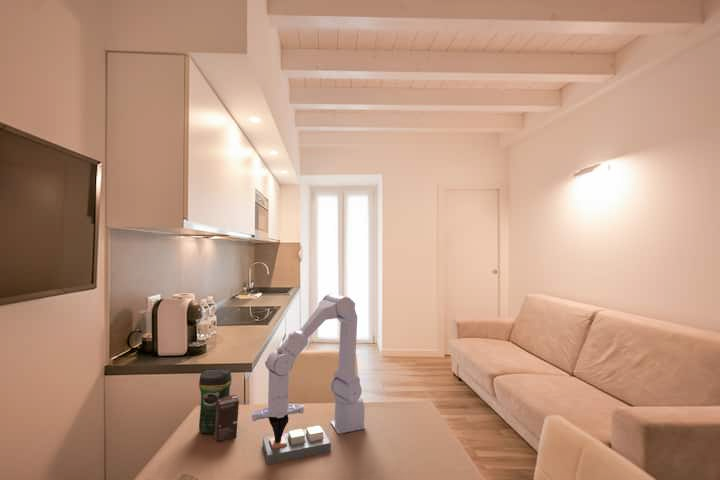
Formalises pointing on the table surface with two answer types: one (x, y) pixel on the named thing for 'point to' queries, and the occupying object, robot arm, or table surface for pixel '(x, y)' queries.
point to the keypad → (295, 448)
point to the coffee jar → (212, 396)
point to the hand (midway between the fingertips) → (277, 441)
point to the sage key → (296, 437)
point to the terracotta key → (277, 445)
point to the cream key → (314, 433)
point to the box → (226, 417)
